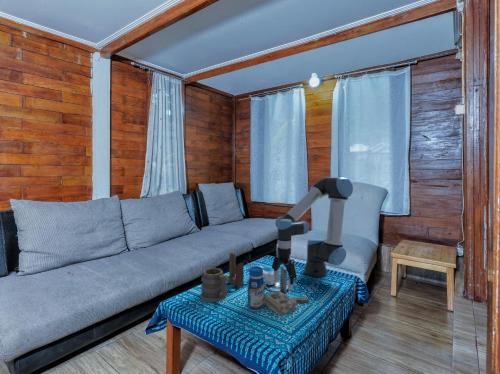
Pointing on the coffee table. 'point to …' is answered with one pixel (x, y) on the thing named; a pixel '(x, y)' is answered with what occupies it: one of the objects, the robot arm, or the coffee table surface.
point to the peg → (283, 280)
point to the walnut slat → (301, 299)
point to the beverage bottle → (255, 289)
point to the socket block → (279, 302)
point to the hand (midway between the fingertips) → (283, 285)
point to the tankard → (213, 285)
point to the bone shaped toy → (268, 276)
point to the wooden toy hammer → (235, 272)
